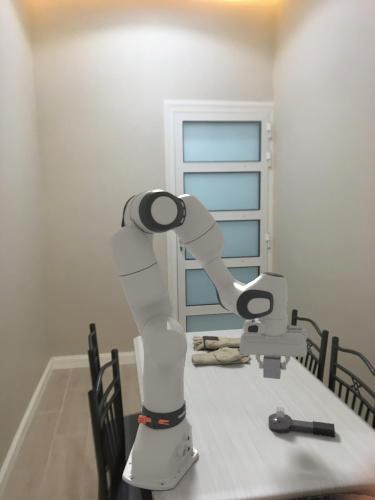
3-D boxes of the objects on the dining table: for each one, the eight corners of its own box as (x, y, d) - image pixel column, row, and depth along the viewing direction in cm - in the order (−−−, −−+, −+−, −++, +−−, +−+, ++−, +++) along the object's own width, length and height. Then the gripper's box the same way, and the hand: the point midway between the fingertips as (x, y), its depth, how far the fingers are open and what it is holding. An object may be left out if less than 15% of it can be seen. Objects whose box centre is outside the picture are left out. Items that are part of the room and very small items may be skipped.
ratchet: (335, 440, 115) (335, 422, 114) (267, 431, 120) (267, 413, 120) (333, 427, 122) (333, 409, 121) (269, 419, 127) (269, 402, 126)
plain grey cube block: (280, 379, 122) (280, 360, 121) (263, 377, 123) (263, 358, 122) (281, 372, 126) (281, 353, 126) (265, 370, 128) (265, 352, 127)
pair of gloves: (192, 342, 199) (191, 332, 198) (244, 342, 198) (244, 331, 198) (191, 367, 169) (190, 355, 168) (252, 367, 168) (252, 354, 168)
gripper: (306, 322, 124) (306, 365, 126) (239, 320, 128) (239, 362, 129) (309, 329, 118) (308, 374, 120) (238, 327, 121) (239, 371, 123)
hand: (272, 368), depth 124 cm, fingers closed on plain grey cube block, 5 cm apart
